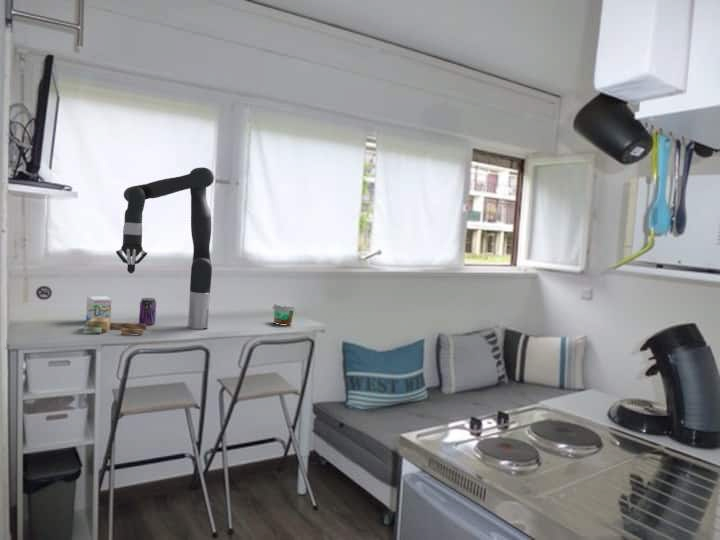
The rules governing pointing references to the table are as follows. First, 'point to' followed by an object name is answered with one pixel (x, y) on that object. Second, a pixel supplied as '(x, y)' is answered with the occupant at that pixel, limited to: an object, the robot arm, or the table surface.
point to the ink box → (98, 307)
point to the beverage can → (147, 311)
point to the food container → (283, 314)
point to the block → (100, 323)
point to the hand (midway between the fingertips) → (130, 272)
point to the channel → (125, 328)
